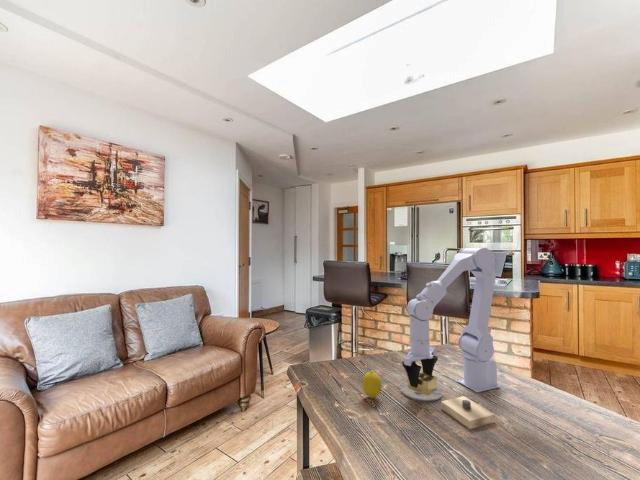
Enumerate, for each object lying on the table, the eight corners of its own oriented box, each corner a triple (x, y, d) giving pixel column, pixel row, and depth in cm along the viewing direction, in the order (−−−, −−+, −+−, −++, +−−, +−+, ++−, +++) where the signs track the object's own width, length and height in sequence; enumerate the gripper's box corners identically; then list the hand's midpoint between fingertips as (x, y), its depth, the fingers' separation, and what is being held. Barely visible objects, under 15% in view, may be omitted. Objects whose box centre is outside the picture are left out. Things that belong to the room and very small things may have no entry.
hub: (424, 380, 101) (424, 368, 101) (450, 397, 90) (450, 383, 90) (393, 386, 97) (393, 374, 97) (417, 404, 86) (416, 390, 86)
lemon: (381, 403, 87) (380, 375, 87) (362, 402, 88) (361, 374, 88) (381, 394, 92) (380, 368, 93) (363, 392, 94) (362, 367, 94)
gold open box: (416, 382, 98) (416, 370, 98) (436, 390, 92) (436, 377, 92) (407, 387, 94) (407, 374, 94) (428, 395, 89) (427, 382, 89)
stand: (463, 403, 86) (463, 390, 87) (494, 422, 77) (494, 408, 77) (441, 408, 84) (440, 395, 84) (469, 429, 74) (469, 414, 74)
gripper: (418, 347, 86) (419, 395, 86) (443, 336, 95) (444, 379, 95) (397, 341, 92) (398, 386, 91) (423, 331, 101) (424, 372, 101)
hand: (420, 382), depth 94 cm, fingers open, 7 cm apart
